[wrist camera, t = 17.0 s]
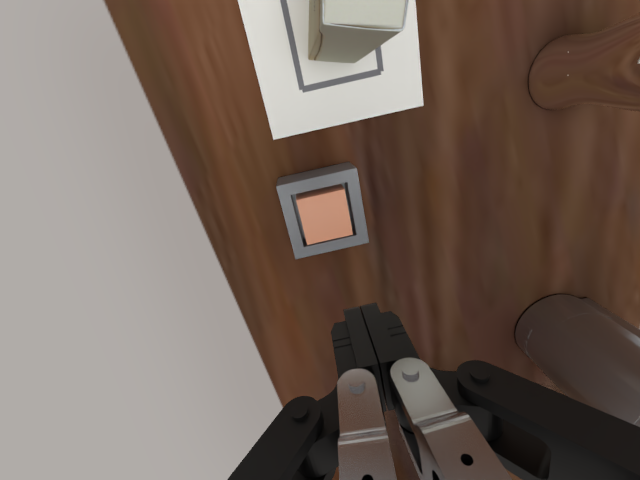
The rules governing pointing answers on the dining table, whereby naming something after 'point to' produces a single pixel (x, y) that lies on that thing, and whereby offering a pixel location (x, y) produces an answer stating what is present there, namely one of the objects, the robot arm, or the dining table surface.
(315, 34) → the skincare box
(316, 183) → the button housing
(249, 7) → the paper sheet
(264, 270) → the dining table surface
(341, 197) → the button
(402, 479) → the dining table surface
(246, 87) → the dining table surface
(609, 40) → the beer glass
